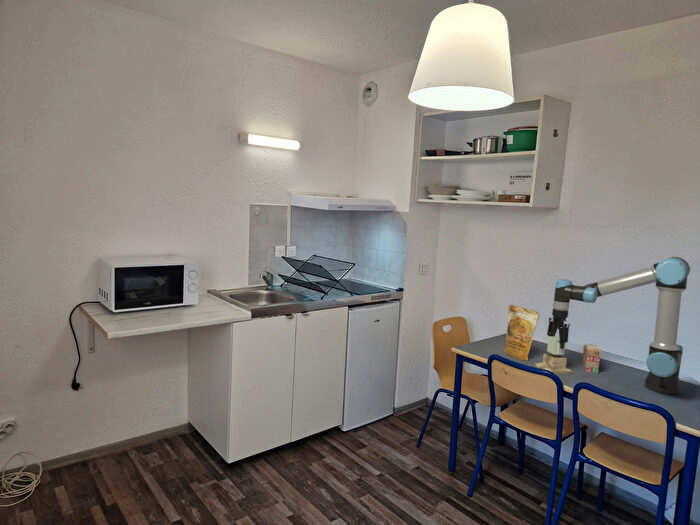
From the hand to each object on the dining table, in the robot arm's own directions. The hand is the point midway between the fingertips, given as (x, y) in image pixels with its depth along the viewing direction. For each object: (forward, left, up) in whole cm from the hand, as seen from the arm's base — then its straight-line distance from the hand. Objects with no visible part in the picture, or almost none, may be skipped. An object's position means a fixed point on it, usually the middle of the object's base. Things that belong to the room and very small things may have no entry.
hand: (555, 352), depth 251 cm
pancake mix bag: (+22, +7, -10) cm, 25 cm away
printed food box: (+3, -25, -10) cm, 27 cm away
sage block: (0, 0, 0) cm, 0 cm away
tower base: (0, 0, -9) cm, 9 cm away
